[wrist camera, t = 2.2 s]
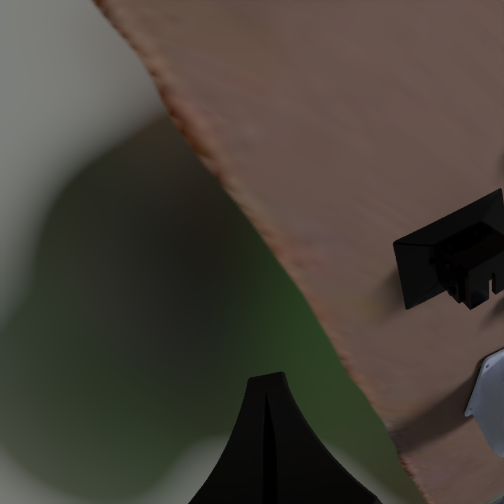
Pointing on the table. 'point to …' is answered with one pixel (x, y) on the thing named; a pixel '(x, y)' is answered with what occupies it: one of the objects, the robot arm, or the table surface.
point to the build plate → (455, 255)
